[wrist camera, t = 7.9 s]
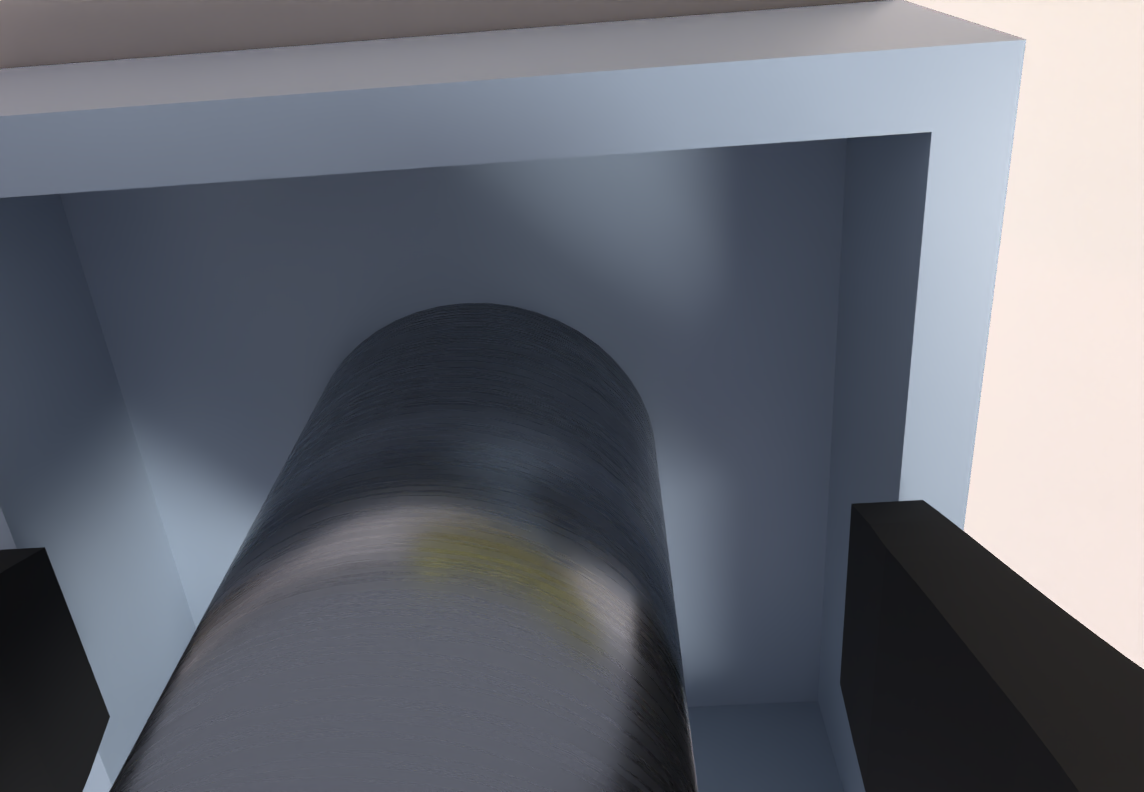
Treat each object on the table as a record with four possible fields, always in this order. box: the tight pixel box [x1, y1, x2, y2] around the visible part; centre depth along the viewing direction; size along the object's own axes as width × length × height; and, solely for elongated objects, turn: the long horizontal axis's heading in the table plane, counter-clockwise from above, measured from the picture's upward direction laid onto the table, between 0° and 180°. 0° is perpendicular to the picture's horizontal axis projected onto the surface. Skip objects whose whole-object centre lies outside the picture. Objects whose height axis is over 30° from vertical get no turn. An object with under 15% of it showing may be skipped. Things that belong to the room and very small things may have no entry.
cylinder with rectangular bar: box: [109, 303, 698, 792], centre depth 8 cm, size 4×4×7 cm
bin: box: [0, 0, 1026, 792], centre depth 11 cm, size 9×9×3 cm
